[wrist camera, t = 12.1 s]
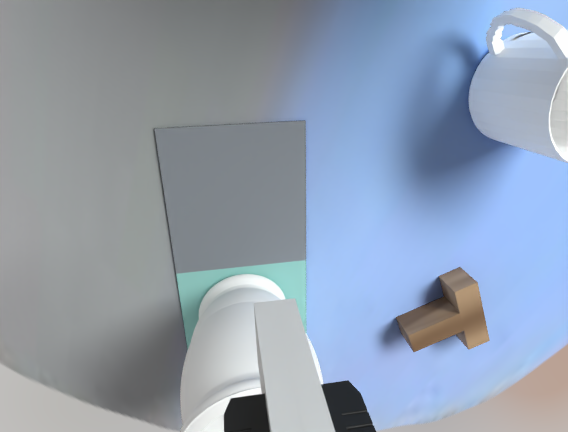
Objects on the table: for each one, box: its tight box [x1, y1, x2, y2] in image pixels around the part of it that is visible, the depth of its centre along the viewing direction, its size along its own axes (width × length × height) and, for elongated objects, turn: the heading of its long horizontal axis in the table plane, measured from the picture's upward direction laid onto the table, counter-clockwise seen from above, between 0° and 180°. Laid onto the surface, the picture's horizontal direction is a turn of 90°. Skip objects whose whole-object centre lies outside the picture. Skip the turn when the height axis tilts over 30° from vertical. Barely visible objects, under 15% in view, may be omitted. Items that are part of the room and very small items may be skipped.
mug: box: [468, 8, 568, 163], centre depth 30 cm, size 12×9×9 cm
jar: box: [180, 274, 323, 432], centre depth 32 cm, size 11×10×15 cm
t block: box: [396, 267, 490, 352], centre depth 42 cm, size 8×8×3 cm
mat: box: [154, 120, 306, 349], centre depth 37 cm, size 26×12×1 cm, turn 2°
